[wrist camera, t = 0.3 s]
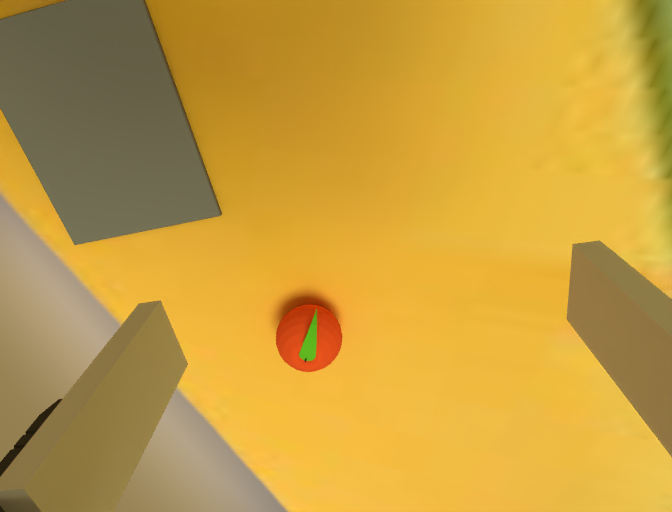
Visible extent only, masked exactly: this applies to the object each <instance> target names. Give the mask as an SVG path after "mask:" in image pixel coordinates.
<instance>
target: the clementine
mask: <svg viewBox="0 0 672 512" xmlns="http://www.w3.org/2000/svg"><path fill="white" fill-rule="evenodd" d="M341 344H342V333H341V328H340V324H339V323H338V321H337V319H336V318H335V317H334V315H333V314H332V313H331V312H330V311H328V310H327V309H325V308H323V307H320V306H317V305H309V304H308V305H301V306H298V307H296V308H294V309H293V310H291V311H290V312H288V313H287V314H286V315H285V316H284V317H283V319H282V320H281V322H280V324H279V326H278V329H277V333H276V345H277V348H278V351H279V353H280V356H281V357H282V358H283V360H284V361H285V362H286V363H287V364H288V365H290V366H291V367H293V368H295V369H297V370H300V371H304V372H312V371H317V370H320V369H323V368H325V367H326V366H328V365H329V364H331V362H332V361H333V360H334V359H335V358H336V356H337V355H338V353H339V351H340V348H341Z"/></svg>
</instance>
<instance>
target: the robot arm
mask: <svg viewBox="0 0 672 512" xmlns="http://www.w3.org/2000/svg"><path fill="white" fill-rule="evenodd" d="M567 320H568V322H569V323H570V324H571V326H572V327H573V328H574V329H575V331H576V332H577V333H578V335H579V336H580V337H581V339H582V340H583V341H584V343H585V344H586V345H587V346H588V348H589V349H590V350H591V352H592V353H593V354H594V356H595V357H596V358H597V360H598V361H599V362H600V364H601V365H602V366H603V367H604V369H605V370H606V371H607V373H608V374H609V375H610V377H611V378H612V379H613V381H614V382H615V383H616V385H617V386H618V387H619V388H620V390H621V391H622V392H623V394H624V395H625V396H626V398H627V399H628V400H629V402H630V403H631V404H632V405H633V407H634V408H635V409H636V411H637V412H638V413H639V415H640V416H641V417H642V419H643V420H644V421H645V423H646V424H647V425H648V426H649V428H650V429H651V430H652V432H653V433H654V434H655V436H656V437H657V438H658V440H659V441H660V442H661V444H662V445H663V446H664V447H665V449H666V450H667V451H668V453H669V454H670V455H671V457H672V299H671V298H669V297H668V296H667V295H666V294H664V293H663V292H662V291H661V290H660V289H658V288H657V287H656V286H655V285H653V284H652V283H651V282H650V281H649V280H647V279H646V278H645V277H644V276H642V275H641V274H640V273H639V272H638V271H636V270H635V269H634V268H633V267H631V266H630V265H629V264H628V263H627V262H625V261H624V260H623V259H622V258H620V257H619V256H618V255H617V254H616V253H614V252H613V251H612V250H611V249H609V248H608V247H607V246H606V245H605V244H603V243H602V242H601V241H593V242H586V243H578V244H573V248H572V261H571V273H570V285H569V297H568V309H567ZM187 365H188V363H187V361H186V359H185V356H184V354H183V352H182V349H181V347H180V345H179V342H178V340H177V338H176V335H175V333H174V331H173V328H172V326H171V324H170V321H169V319H168V317H167V314H166V312H165V310H164V307H163V305H162V303H161V301H154V302H147V303H140V304H138V306H137V307H136V308H135V309H134V311H133V312H132V313H131V314H130V316H129V317H128V318H127V319H126V321H125V322H124V323H123V324H122V326H121V327H120V328H119V329H118V331H117V332H116V333H115V334H114V336H113V337H112V338H111V339H110V341H109V342H108V343H107V344H106V346H105V347H104V348H103V349H102V351H101V352H100V353H99V354H98V356H97V357H96V358H95V359H94V361H93V362H92V363H91V364H90V366H89V367H88V368H87V369H86V370H85V372H84V373H83V374H82V376H81V377H80V378H79V379H78V380H77V382H76V383H75V384H74V385H73V387H72V388H71V389H70V390H69V392H68V393H67V394H66V396H65V397H64V398H63V399H59V400H57V401H56V402H55V403H54V404H53V405H51V406H50V407H49V408H48V409H46V410H45V411H44V412H43V413H42V414H40V415H39V416H38V418H37V419H36V420H35V421H34V422H33V424H32V425H31V426H30V427H29V429H28V430H27V431H26V435H23V436H22V437H21V438H20V439H19V441H18V442H17V443H16V444H15V445H14V449H13V450H10V451H9V453H8V454H7V455H6V457H4V459H3V460H2V461H1V462H0V512H113V511H114V510H115V508H116V506H117V504H118V502H119V500H120V498H121V496H122V494H123V492H124V490H125V488H126V486H127V484H128V482H129V480H130V478H131V476H132V474H133V472H134V470H135V468H136V466H137V464H138V462H139V460H140V458H141V456H142V454H143V452H144V450H145V448H146V446H147V444H148V442H149V440H150V438H151V436H152V434H153V432H154V430H155V428H156V426H157V424H158V422H159V420H160V418H161V416H162V414H163V413H164V410H165V409H166V407H167V405H168V403H169V400H170V399H171V397H172V394H173V393H174V391H175V389H176V387H177V385H178V383H179V381H180V379H181V377H182V375H183V373H184V371H185V369H186V367H187Z"/></svg>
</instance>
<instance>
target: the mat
mask: <svg viewBox="0 0 672 512" xmlns="http://www.w3.org/2000/svg"><path fill="white" fill-rule="evenodd" d="M0 108H1V110H2V112H3V114H4V116H5V118H6V119H7V121H8V123H9V125H10V127H11V129H12V130H13V132H14V134H15V136H16V138H17V140H18V141H19V143H20V145H21V147H22V149H23V151H24V153H25V154H26V156H27V158H28V160H29V162H30V164H31V165H32V167H33V169H34V171H35V173H36V175H37V176H38V178H39V180H40V182H41V184H42V186H43V187H44V189H45V191H46V193H47V195H48V197H49V199H50V200H51V202H52V204H53V206H54V208H55V210H56V211H57V213H58V215H59V217H60V219H61V221H62V222H63V224H64V226H65V228H66V230H67V232H68V234H69V235H70V237H71V239H72V241H73V243H74V245H78V244H83V243H87V242H92V241H97V240H102V239H107V238H112V237H117V236H122V235H127V234H132V233H137V232H142V231H147V230H152V229H157V228H162V227H167V226H172V225H177V224H182V223H187V222H192V221H197V220H202V219H207V218H212V217H217V216H221V215H222V213H221V210H220V207H219V204H218V201H217V199H216V196H215V193H214V190H213V188H212V185H211V182H210V179H209V177H208V174H207V171H206V168H205V165H204V163H203V160H202V157H201V154H200V152H199V149H198V146H197V143H196V141H195V138H194V135H193V132H192V129H191V127H190V124H189V121H188V118H187V116H186V113H185V110H184V107H183V105H182V102H181V99H180V96H179V94H178V91H177V88H176V85H175V82H174V80H173V77H172V74H171V71H170V69H169V66H168V63H167V60H166V58H165V55H164V52H163V49H162V46H161V44H160V41H159V38H158V35H157V33H156V30H155V27H154V24H153V22H152V19H151V16H150V13H149V10H148V8H147V5H146V2H145V0H67V1H64V2H60V3H56V4H53V5H49V6H46V7H42V8H39V9H35V10H32V11H28V12H25V13H21V14H18V15H14V16H11V17H7V18H4V19H0Z"/></svg>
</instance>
